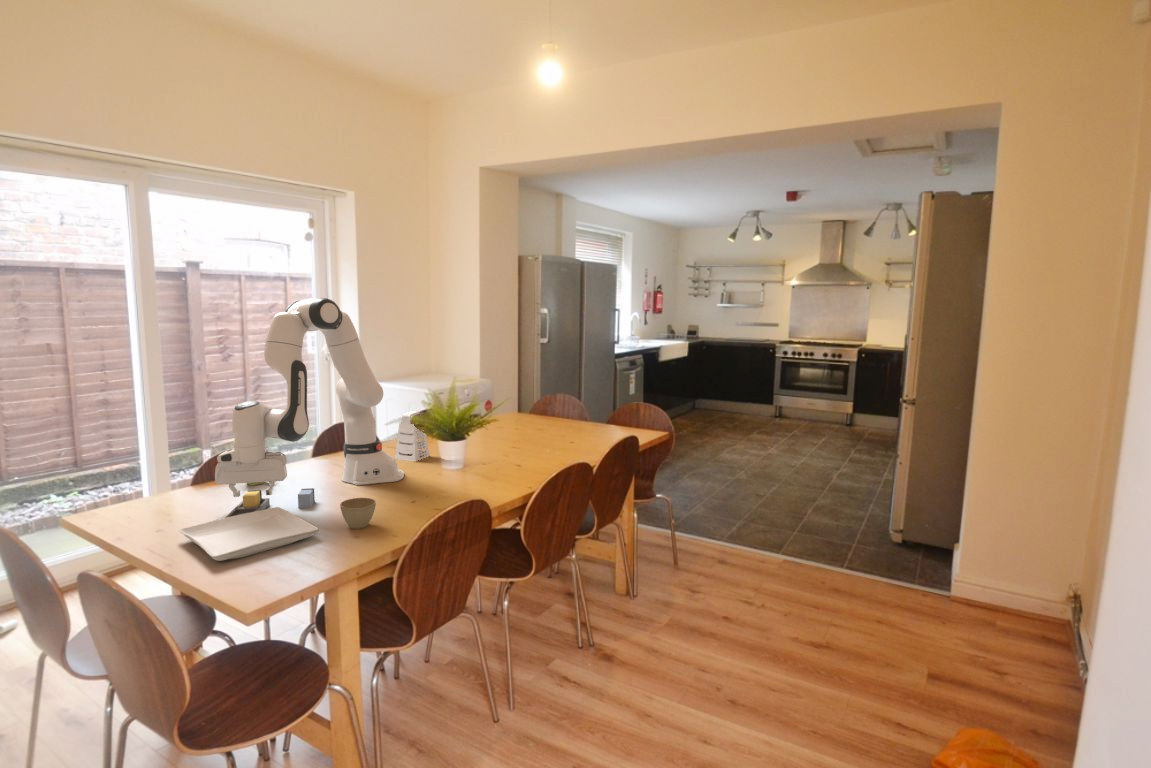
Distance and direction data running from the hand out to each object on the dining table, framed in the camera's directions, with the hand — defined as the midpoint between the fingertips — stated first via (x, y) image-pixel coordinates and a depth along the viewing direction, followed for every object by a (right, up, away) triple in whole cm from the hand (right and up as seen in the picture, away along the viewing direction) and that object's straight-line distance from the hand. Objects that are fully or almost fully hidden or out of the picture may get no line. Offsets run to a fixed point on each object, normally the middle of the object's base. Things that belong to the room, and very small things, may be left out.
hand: (253, 495), depth 191 cm
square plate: (+12, -8, -24) cm, 28 cm away
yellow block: (0, -4, 0) cm, 4 cm away
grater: (+32, +3, +69) cm, 76 cm away
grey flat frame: (+1, -5, -4) cm, 7 cm away
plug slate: (+14, -4, +6) cm, 16 cm away
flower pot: (+38, -7, -12) cm, 41 cm away
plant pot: (-15, -1, +29) cm, 33 cm away
